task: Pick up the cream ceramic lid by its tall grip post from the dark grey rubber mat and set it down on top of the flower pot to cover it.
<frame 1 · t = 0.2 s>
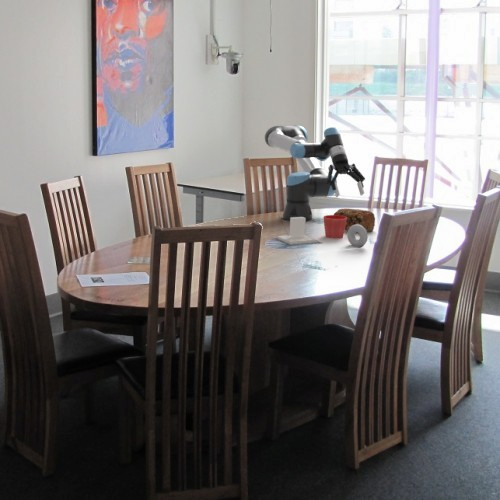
hand: (350, 195, 390), 16 cm above the table, tool tilted 35°, fingers open, 13 cm apart
bread: (353, 229, 387), on the table
donut: (356, 247, 347), on the table
flower pot: (334, 238, 366), on the table
mat: (297, 241, 357), on the table
lid: (297, 240, 356), point 1 cm above the table, touching mat
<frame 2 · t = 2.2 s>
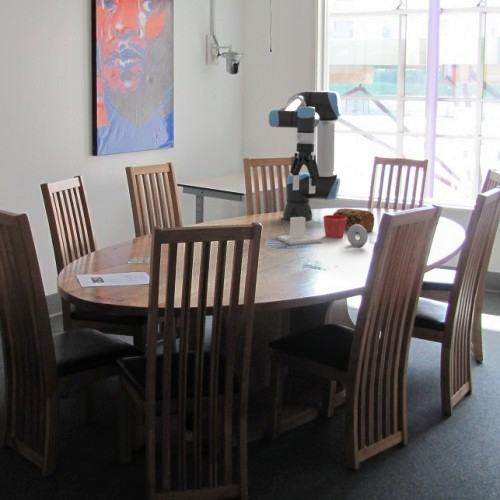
hand: (303, 191, 353), 22 cm above the table, tool pointing down, fingers open, 13 cm apart
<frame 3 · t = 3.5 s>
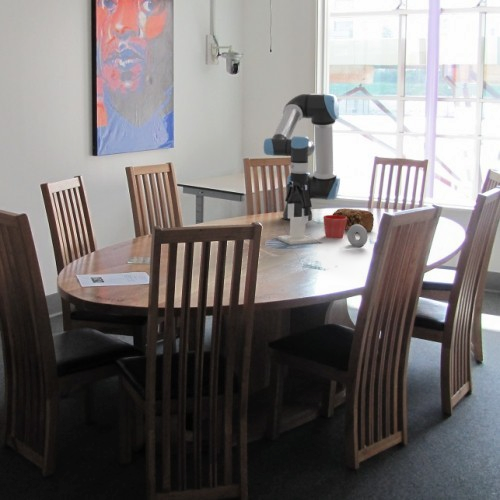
hand: (297, 220, 354), 10 cm above the table, tool pointing down, fingers open, 13 cm apart
nothing on the table moved.
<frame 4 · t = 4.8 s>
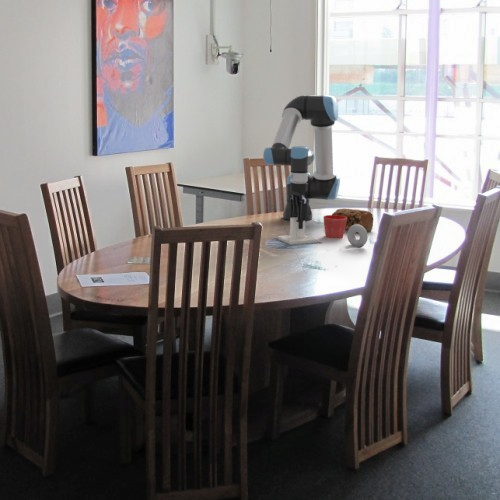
hand: (297, 235, 356), 3 cm above the table, tool pointing down, fingers closed on lid, 3 cm apart
lid: (297, 240, 356), point 1 cm above the table, touching gripper, mat
everything else where it was.
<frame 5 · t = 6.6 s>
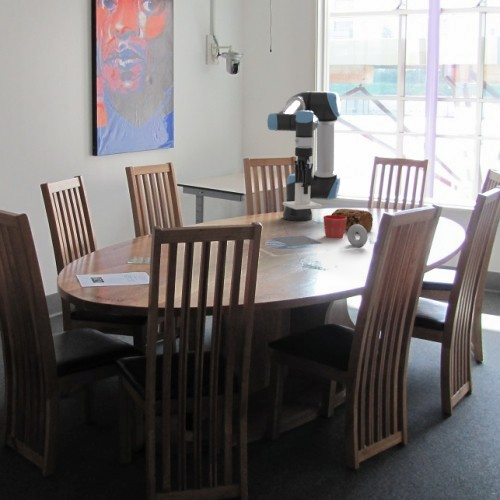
hand: (302, 200, 354), 18 cm above the table, tool pointing down, fingers closed on lid, 3 cm apart
lid: (302, 206, 354), point 16 cm above the table, touching gripper
when the fingers open (14 cm above the table, at t = 8.7 s): lid drops 1 cm, resting on flower pot.
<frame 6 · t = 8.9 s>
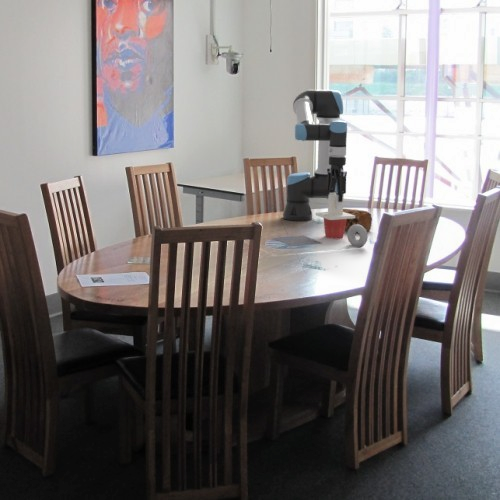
hand: (335, 207, 363), 14 cm above the table, tool pointing down, fingers open, 5 cm apart
flower pot: (334, 238, 366), on the table, touching lid
lid: (335, 216, 364), point 10 cm above the table, touching flower pot
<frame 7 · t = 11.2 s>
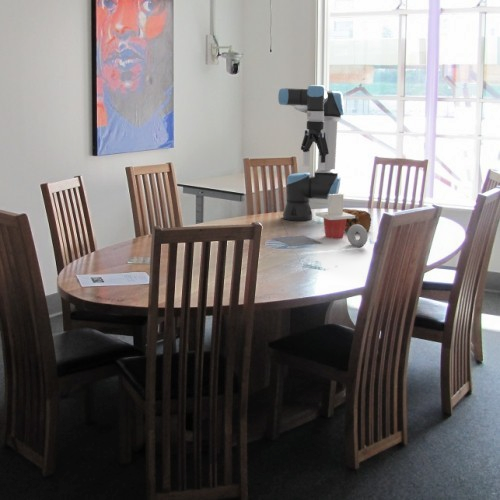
hand: (313, 168, 365), 31 cm above the table, tool pointing down, fingers open, 13 cm apart
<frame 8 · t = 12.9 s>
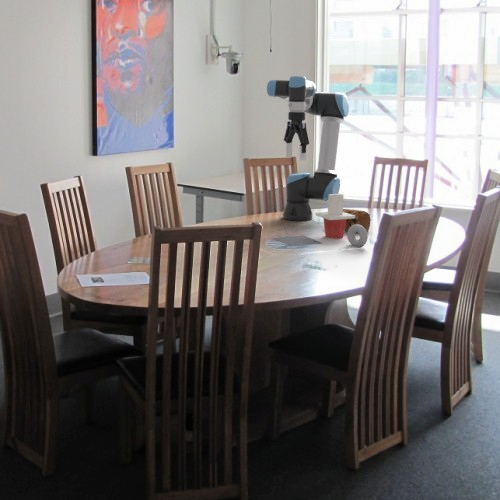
hand: (295, 158, 367), 35 cm above the table, tool pointing down, fingers open, 13 cm apart
at the end: lid inside the target area on the flower pot (0.1 cm from its centre), point 9.9 cm above the flower pot's base; lid tilted 0°; the gripper is holding nothing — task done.
